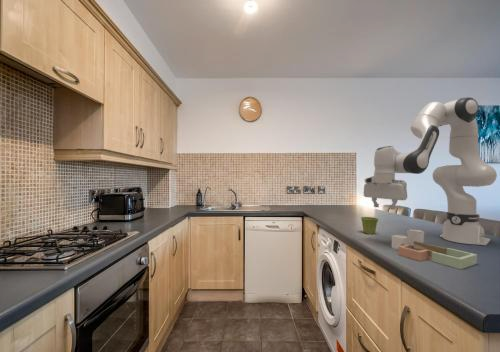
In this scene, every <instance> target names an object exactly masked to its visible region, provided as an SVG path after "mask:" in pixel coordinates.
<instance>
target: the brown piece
mask: <svg viewBox="0 0 500 352" xmlns="http://www.w3.org/2000/svg"><path fill="white" fill-rule="evenodd" d="M403 245H407V244H401V246H403ZM408 246H409V249H411V245H408ZM446 248H447V247H443V246H439V245H434V244H430V243H429V244H428V243H425V242H423V243H421V242H417V241H414V246H413V250H417V251H421V250H428V259H427V260H430V261H431V260H432V252H437V253H441V254H445V255H446Z"/></svg>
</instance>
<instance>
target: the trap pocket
mask: <svg viewBox="0 0 500 352" xmlns="http://www.w3.org/2000/svg"><path fill="white" fill-rule="evenodd" d="M397 251H398V252H397V253H398V256H400V257H404V258H408V259H411V260H413V261H419V262H422V261H426V260H428V250H421V251H419V250H415V249H414V248H410V249H409V246H408V245H403V246H398V249H397Z"/></svg>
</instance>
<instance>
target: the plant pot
mask: <svg viewBox="0 0 500 352" xmlns="http://www.w3.org/2000/svg"><path fill="white" fill-rule="evenodd" d="M360 219H361V223H362V229H363V230H362V231H363V233H364V234H367V235H374V234H376V230H377V224H378V221H379V217H378V218H377V217H372V216H361V217H360Z"/></svg>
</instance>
